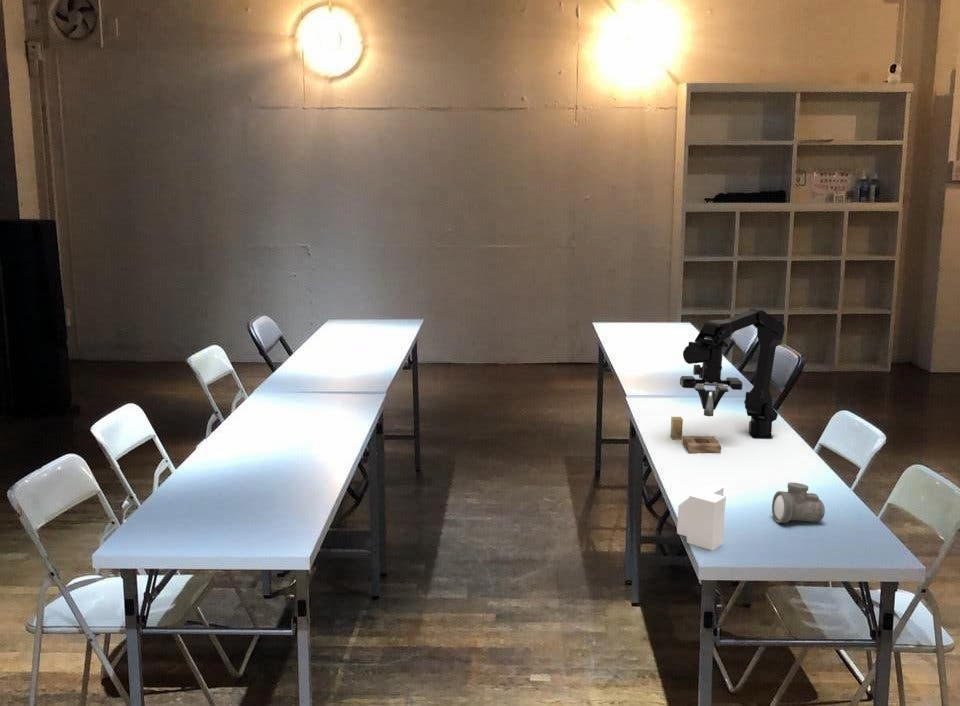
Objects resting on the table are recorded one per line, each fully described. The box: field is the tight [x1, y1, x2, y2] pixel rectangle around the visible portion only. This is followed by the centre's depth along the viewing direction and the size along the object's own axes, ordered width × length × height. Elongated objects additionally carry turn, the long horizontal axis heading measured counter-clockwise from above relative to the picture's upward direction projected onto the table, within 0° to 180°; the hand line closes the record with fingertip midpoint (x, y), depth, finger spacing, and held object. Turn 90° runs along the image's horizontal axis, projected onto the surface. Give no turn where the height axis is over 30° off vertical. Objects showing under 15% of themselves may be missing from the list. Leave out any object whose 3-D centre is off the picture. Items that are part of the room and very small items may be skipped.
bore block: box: [682, 435, 722, 454], centre depth 296 cm, size 10×10×3 cm
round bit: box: [703, 389, 715, 417], centre depth 296 cm, size 3×3×8 cm
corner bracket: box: [676, 484, 727, 551], centre depth 226 cm, size 11×11×12 cm
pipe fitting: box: [771, 481, 826, 524], centre depth 237 cm, size 12×8×10 cm
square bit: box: [669, 416, 684, 441], centre depth 307 cm, size 3×3×7 cm
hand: (708, 409), depth 296 cm, fingers closed on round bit, 3 cm apart
